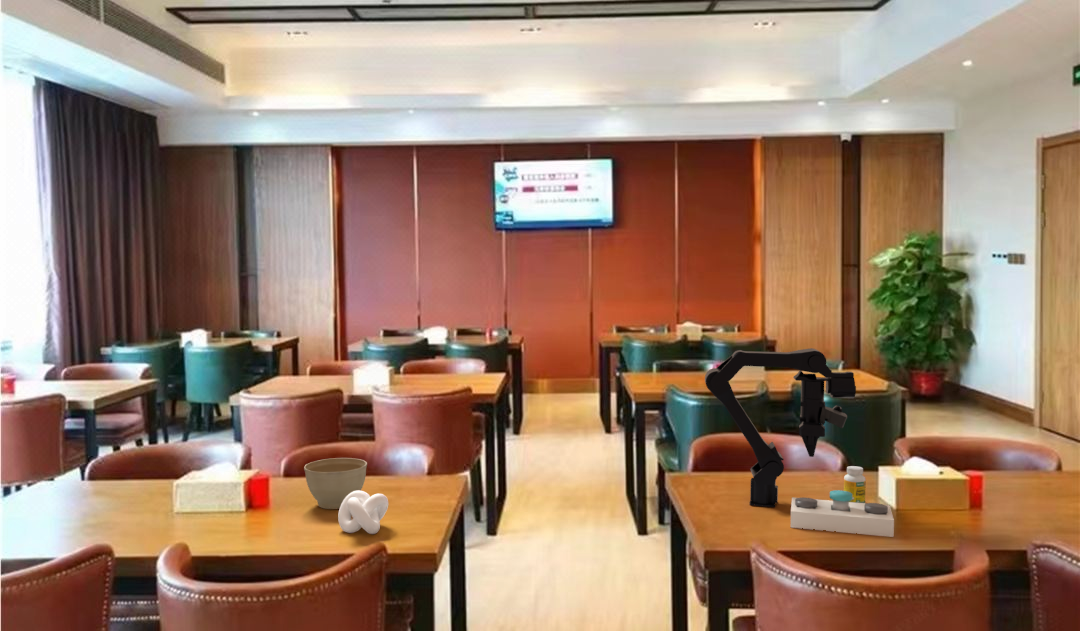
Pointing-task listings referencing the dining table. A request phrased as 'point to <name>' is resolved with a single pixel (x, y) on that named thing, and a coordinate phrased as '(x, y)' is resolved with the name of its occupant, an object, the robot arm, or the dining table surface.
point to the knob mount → (842, 519)
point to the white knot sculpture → (362, 512)
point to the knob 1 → (806, 503)
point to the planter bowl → (334, 479)
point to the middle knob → (840, 500)
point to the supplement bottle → (855, 484)
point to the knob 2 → (876, 508)
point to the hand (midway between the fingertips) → (811, 456)
